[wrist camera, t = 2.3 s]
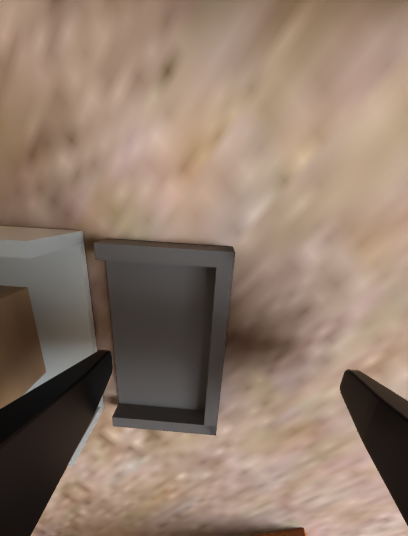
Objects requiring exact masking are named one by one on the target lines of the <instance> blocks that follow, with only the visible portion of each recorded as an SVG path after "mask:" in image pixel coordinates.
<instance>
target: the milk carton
mask: <svg viewBox="0 0 408 536" xmlns="http://www.w3.org/2000/svg"><path fill="white" fill-rule="evenodd" d="M252 536H307V535H306V533H305V530H304V528H298V529H291V530H285V531H278V532H271V533H265V534H258V535H252Z"/></svg>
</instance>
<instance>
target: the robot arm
mask: <svg viewBox="0 0 408 536" xmlns="http://www.w3.org/2000/svg"><path fill="white" fill-rule="evenodd" d="M112 369H113V366H112V356H111V352H110V351H108V350H99V351H97V352H95V353H93V354H92V355H90V356H88V357H87V358H85V359H83V360H82V361H80V362H78V363H77V364H75V365H73V366H72V367H70V368H68V369H66V370H65V371H63V372H61V373H60V374H58V375H56V376H55V377H53V378H51V379H50V380H48V381H46V382H45V383H43V384H41V385H40V386H38V387H36V388H34V389H33V390H31V391H29V392H28V393H26V394H24V395H23V396H21V397H19V398H18V399H16V400H14V401H13V402H11V403H9V404H8V405H6V406H4V407H2V408H1V409H0V536H30V535H31V534H32V532H33V530H34V528H35V526H36V524H37V522H38V520H39V519H40V517H41V515H42V513H43V511H44V509H45V507H46V505H47V503H48V502H49V500H50V498H51V496H52V494H53V492H54V490H55V488H56V487H57V485H58V483H59V481H60V479H61V477H62V475H63V473H64V471H65V470H66V468H67V466H68V464H69V462H70V460H71V458H72V456H73V454H74V453H75V451H76V449H77V447H78V445H79V443H80V441H81V439H82V438H83V436H84V434H85V432H86V430H87V428H88V426H89V424H90V422H91V420H92V418H93V416H94V414H95V412H96V410H97V407H98V405H99V403H100V400H101V398H102V395H103V393H104V391H105V388H106V386H107V383H108V381H109V379H110V376H111V374H112ZM340 391H341V394H342V397H343V399H344V401H345V404H346V406H347V408H348V410H349V413H350V415H351V417H352V419H353V422H354V424H355V426H356V428H357V431H358V433H359V435H360V437H361V439H362V441H363V443H364V445H365V447H366V449H367V451H368V453H369V455H370V457H371V458H372V460H373V462H374V464H375V466H376V468H377V470H378V471H379V473H380V475H381V477H382V479H383V481H384V483H385V485H386V486H387V488H388V490H389V492H390V494H391V496H392V498H393V499H394V501H395V503H396V505H397V507H398V509H399V511H400V512H401V514H402V516H403V518H404V520H405V522H406V524H407V525H408V401H407V400H405V399H404V398H402V397H401V396H399V395H397V394H396V393H394V392H393V391H391V390H389V389H388V388H386V387H385V386H383V385H381V384H380V383H378V382H377V381H375V380H373V379H372V378H370V377H369V376H367V375H365V374H364V373H362V372H361V371H358V370H350V369H348V370H346V371H345V372H344V375H343V378H342V381H341V384H340Z"/></svg>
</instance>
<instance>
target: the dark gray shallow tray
mask: <svg viewBox="0 0 408 536" xmlns="http://www.w3.org/2000/svg"><path fill="white" fill-rule="evenodd" d="M94 253H95V259H96V260H106V269H107V280H108V291H109V302H110V312H111V323H112V334H113V345H114V356H115V367H116V378H117V388H118V399H119V404H118V406H117V408H116V410H115V412H114V415H113V417H112V419H113V426H117V427H128V428H140V429H151V430H162V431H173V432H184V433H196V434H207V435H216V429H217V419H218V410H219V400H220V391H221V381H222V372H223V363H224V353H225V344H226V334H227V325H228V315H229V306H230V296H231V287H232V277H233V268H234V258H235V251H234V249H233V247H229V246H213V245H198V244H182V243H167V242H151V241H136V240H121V239H105V240H102V241H98V242H95V243H94Z"/></svg>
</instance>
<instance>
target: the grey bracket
mask: <svg viewBox="0 0 408 536" xmlns="http://www.w3.org/2000/svg"><path fill="white" fill-rule="evenodd" d="M0 285H2V286H16V287H28V292H29V296H30V301H31V305H32V310H33V314H34V319H35V323H36V328H37V332H38V337H39V341H40V346H41V350H42V355H43V359H44V364H45V368H46V373H45V374H44V375H43V376H42V377H41V378H40V379H39V380H38V381H37V382H36V383H35V384H34V385H33V386H32V387H31V388H30V389H29V390H28V391H27V392H26V393H28V392H29V391H31V390H33V389H34V388H36V387H38V386H40V385H41V384H43V383H45V382H46V381H48V380H50V379H51V378H53V377H55V376H56V375H58V374H60V373H61V372H63V371H65V370H66V369H68V368H70V367H72V366H73V365H75V364H77V363H78V362H80V361H82V360H83V359H85V358H87V357H88V356H90V355H92V354H93V353H95V352H97V345H96V337H95V329H94V321H93V313H92V304H91V296H90V288H89V280H88V272H87V264H86V255H85V247H84V239H83V231H77V230H62V229H46V228H30V227H15V226H0ZM26 393H25V394H26ZM103 410H104V403H103V395H102V398H101V400H100V403H99V405H98V407H97V410H96V412H95V414H94V416H93V418H92V420H91V422H90V424H89V426H88V428H87V430H86V432H85V434H84V436H83V438H82V439H81V441H80V443H79V445H78V447H77V449H76V451H75V453H74V454H73V456H72V458H71V460H70V462H69V464H68V465H70V466H73V465H74V463H75V461H76V460H77V458H78V456H79V454H80V452H81V450H82V448H83V447H84V445H85V443H86V441H87V439H88V437H89V436H90V434H91V432H92V430H93V428H94V426H95V424H96V423H97V421H98V419H99V417H100V415H101V413H102V412H103Z"/></svg>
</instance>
